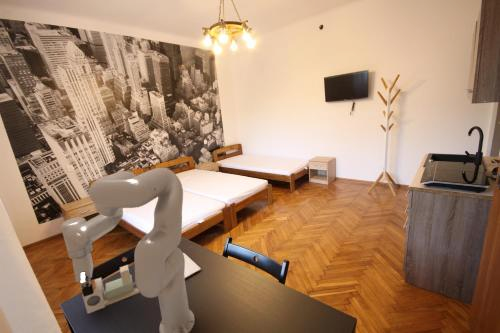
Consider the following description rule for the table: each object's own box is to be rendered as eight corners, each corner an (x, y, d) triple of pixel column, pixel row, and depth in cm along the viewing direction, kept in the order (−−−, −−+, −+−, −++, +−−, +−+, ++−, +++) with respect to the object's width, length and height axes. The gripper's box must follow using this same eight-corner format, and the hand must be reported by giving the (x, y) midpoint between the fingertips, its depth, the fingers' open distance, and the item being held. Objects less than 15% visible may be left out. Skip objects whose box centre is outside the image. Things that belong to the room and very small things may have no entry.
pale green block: (150, 288, 104) (148, 277, 103) (104, 306, 96) (101, 294, 94) (148, 278, 110) (146, 268, 109) (105, 295, 102) (102, 283, 100)
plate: (149, 272, 115) (149, 268, 115) (184, 255, 127) (183, 252, 127) (164, 292, 102) (164, 289, 101) (201, 271, 114) (201, 268, 113)
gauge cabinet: (104, 307, 95) (100, 289, 93) (87, 314, 92) (82, 295, 90) (105, 294, 102) (101, 277, 100) (89, 300, 99) (84, 282, 97)
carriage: (133, 291, 101) (129, 270, 98) (107, 301, 96) (102, 280, 94) (132, 282, 106) (128, 263, 104) (107, 291, 101) (102, 271, 99)
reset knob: (95, 289, 93) (94, 283, 92) (86, 292, 91) (85, 286, 90) (96, 284, 95) (94, 278, 94) (87, 287, 94) (85, 281, 93)
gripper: (71, 241, 93) (80, 277, 97) (64, 265, 79) (75, 306, 83) (93, 236, 97) (101, 270, 101) (90, 258, 82) (99, 297, 87)
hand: (89, 286), depth 92 cm, fingers open, 9 cm apart
